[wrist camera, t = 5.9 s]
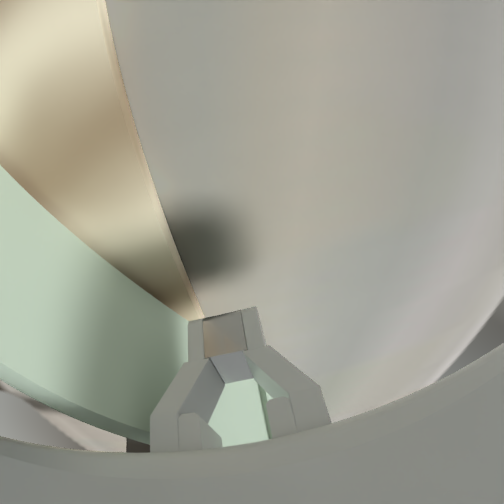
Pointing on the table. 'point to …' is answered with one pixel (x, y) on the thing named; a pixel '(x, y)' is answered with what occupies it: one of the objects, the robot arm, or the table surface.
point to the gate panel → (95, 332)
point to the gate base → (84, 144)
